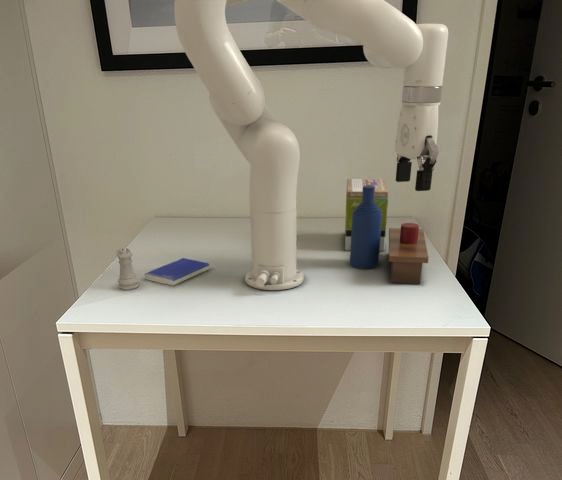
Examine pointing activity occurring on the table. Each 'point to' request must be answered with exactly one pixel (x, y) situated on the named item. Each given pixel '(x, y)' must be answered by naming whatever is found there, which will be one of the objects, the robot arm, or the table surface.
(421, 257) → the brown wooden box
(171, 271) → the blue book
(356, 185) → the tea box
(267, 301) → the table surface
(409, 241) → the cap
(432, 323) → the table surface
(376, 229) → the bottle
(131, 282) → the rook chess piece
